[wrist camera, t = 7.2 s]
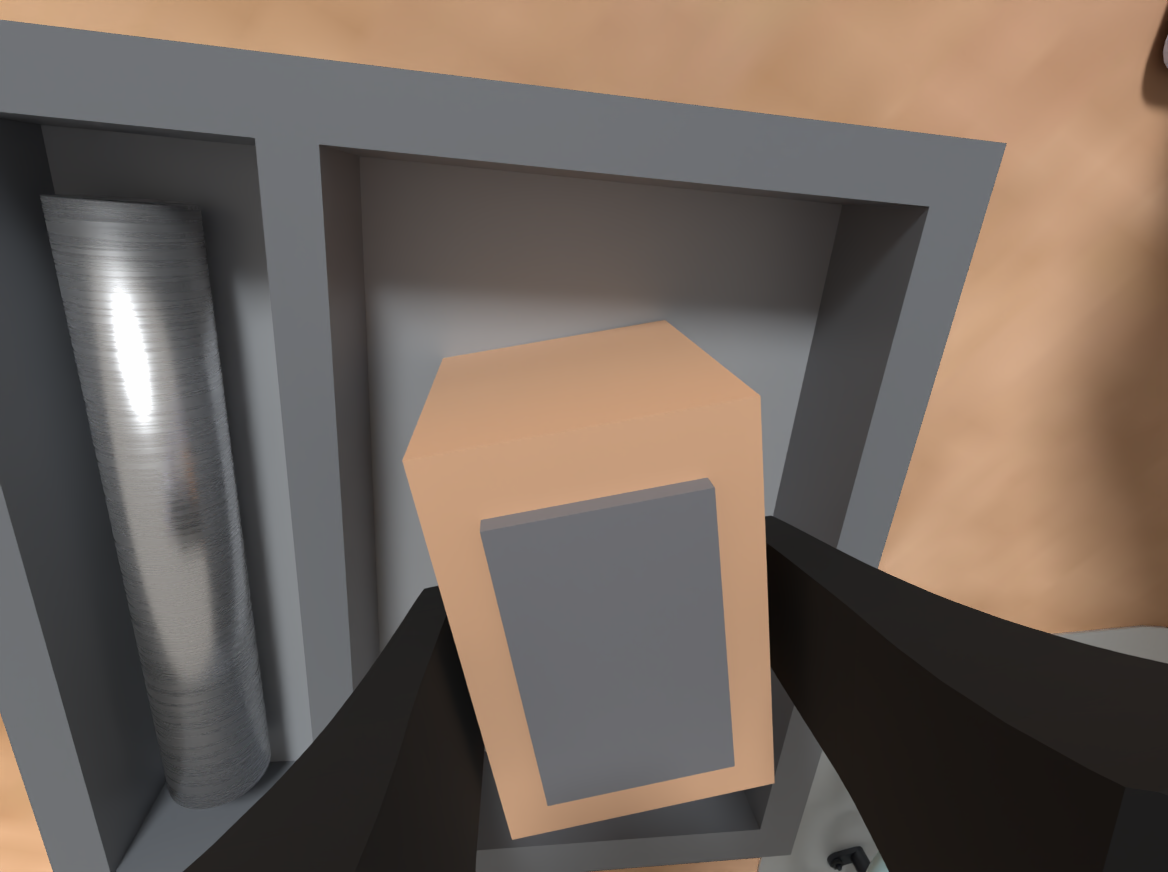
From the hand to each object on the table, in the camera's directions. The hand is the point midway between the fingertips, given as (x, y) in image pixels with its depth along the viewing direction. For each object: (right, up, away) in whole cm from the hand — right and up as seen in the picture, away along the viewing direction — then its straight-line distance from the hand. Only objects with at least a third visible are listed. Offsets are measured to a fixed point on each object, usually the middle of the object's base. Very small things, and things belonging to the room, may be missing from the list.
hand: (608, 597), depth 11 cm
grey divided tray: (-3, +1, +3) cm, 4 cm away
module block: (0, +2, +3) cm, 3 cm away
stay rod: (-8, +1, +2) cm, 8 cm away
